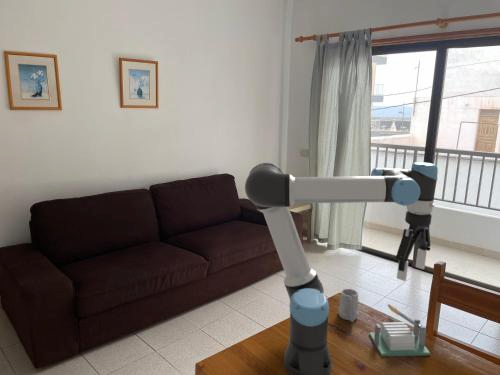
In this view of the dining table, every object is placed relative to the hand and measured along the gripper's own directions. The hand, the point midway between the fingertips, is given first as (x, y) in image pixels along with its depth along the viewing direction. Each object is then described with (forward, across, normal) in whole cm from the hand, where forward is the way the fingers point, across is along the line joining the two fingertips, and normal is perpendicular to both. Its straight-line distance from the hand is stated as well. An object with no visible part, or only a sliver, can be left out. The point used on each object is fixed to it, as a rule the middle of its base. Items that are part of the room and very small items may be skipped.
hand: (410, 273), depth 126 cm
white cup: (+27, +1, +22) cm, 35 cm away
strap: (+17, 0, 0) cm, 17 cm away
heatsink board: (+26, -1, +1) cm, 26 cm away
